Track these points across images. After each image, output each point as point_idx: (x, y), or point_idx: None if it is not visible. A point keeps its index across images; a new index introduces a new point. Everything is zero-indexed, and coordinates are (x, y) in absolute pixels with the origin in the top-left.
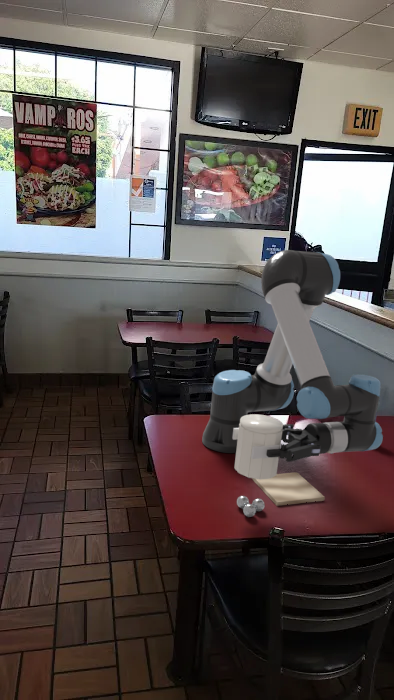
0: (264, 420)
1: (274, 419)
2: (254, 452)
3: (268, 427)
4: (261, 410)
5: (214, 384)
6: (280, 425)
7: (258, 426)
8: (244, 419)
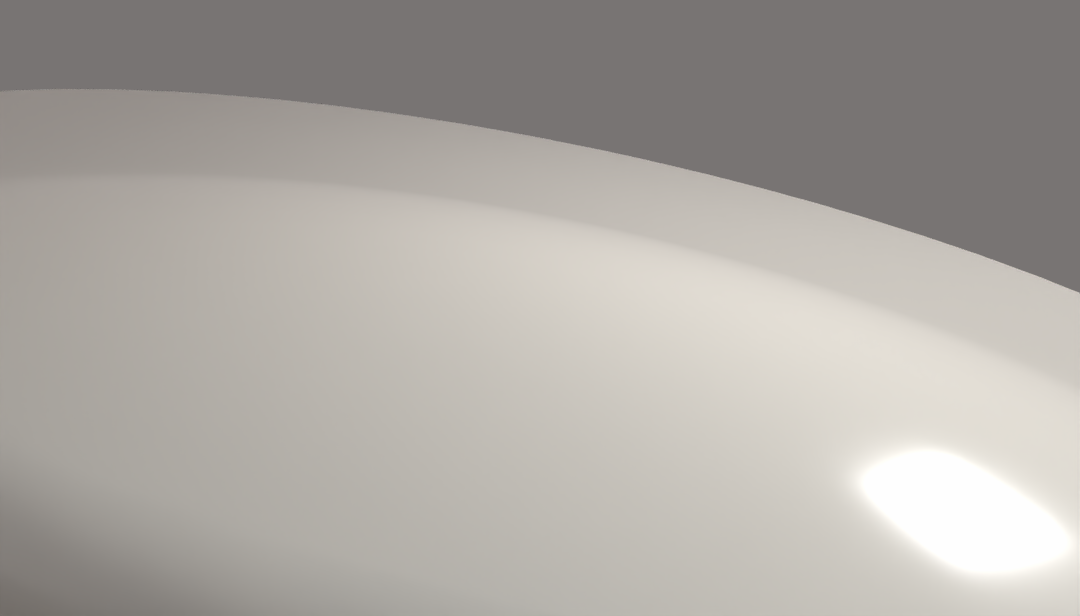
0: (731, 301)
1: (989, 538)
2: None
3: (114, 146)
4: None
5: None
6: (11, 328)
7: (295, 133)
8: (732, 192)
